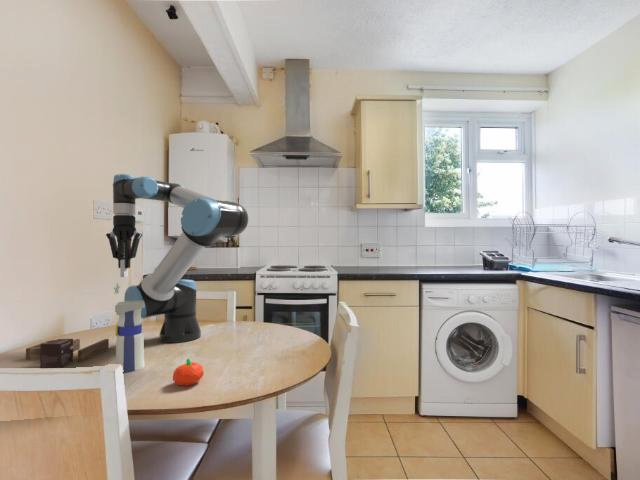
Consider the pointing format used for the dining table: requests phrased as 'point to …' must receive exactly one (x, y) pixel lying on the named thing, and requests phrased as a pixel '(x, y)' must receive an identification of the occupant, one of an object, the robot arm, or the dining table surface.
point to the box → (56, 353)
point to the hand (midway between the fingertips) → (124, 276)
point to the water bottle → (129, 335)
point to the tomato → (188, 373)
